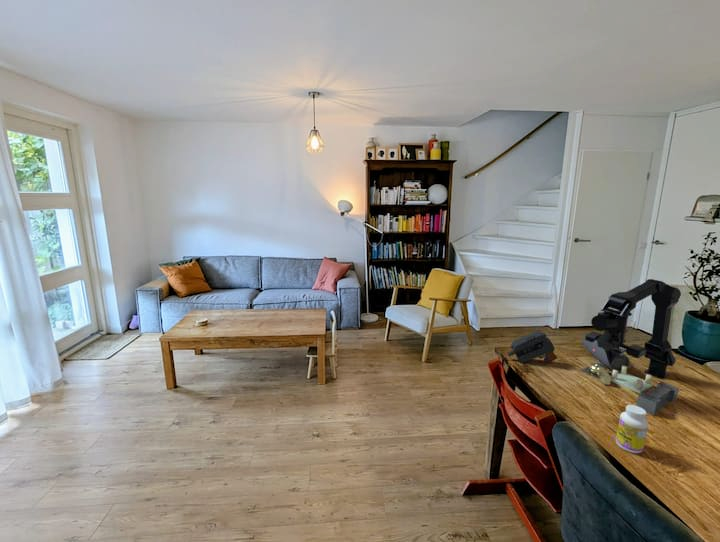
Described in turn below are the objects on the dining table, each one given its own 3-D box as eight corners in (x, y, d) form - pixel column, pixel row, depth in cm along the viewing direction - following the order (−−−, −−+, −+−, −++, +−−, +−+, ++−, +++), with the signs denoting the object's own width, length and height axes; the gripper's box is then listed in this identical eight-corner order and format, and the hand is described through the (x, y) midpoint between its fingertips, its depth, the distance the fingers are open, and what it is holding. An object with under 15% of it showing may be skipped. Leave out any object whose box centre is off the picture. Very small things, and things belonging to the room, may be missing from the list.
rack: (621, 373, 144) (623, 364, 143) (653, 385, 135) (655, 375, 134) (608, 380, 139) (610, 370, 138) (640, 393, 129) (642, 383, 128)
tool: (561, 360, 150) (546, 332, 148) (519, 376, 155) (505, 349, 154) (556, 354, 155) (542, 327, 154) (516, 369, 161) (502, 343, 159)
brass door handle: (586, 367, 148) (588, 360, 147) (602, 369, 146) (603, 362, 146) (598, 383, 136) (599, 375, 135) (615, 385, 134) (616, 377, 133)
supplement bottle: (609, 439, 105) (616, 403, 102) (629, 437, 106) (636, 401, 103) (628, 455, 99) (635, 417, 96) (648, 453, 99) (657, 415, 96)
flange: (591, 365, 151) (591, 365, 151) (614, 374, 143) (614, 374, 143) (580, 370, 146) (580, 370, 146) (603, 380, 139) (603, 379, 139)
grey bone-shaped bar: (658, 393, 130) (661, 381, 129) (676, 400, 125) (678, 388, 124) (635, 407, 121) (638, 395, 120) (653, 415, 116) (656, 402, 115)
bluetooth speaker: (579, 350, 166) (582, 331, 164) (599, 351, 165) (603, 332, 162) (605, 374, 144) (609, 352, 142) (629, 375, 143) (633, 354, 140)
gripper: (579, 322, 133) (574, 358, 137) (634, 340, 117) (627, 380, 121) (595, 317, 138) (590, 352, 142) (650, 333, 122) (642, 372, 126)
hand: (610, 363), depth 132 cm, fingers closed
